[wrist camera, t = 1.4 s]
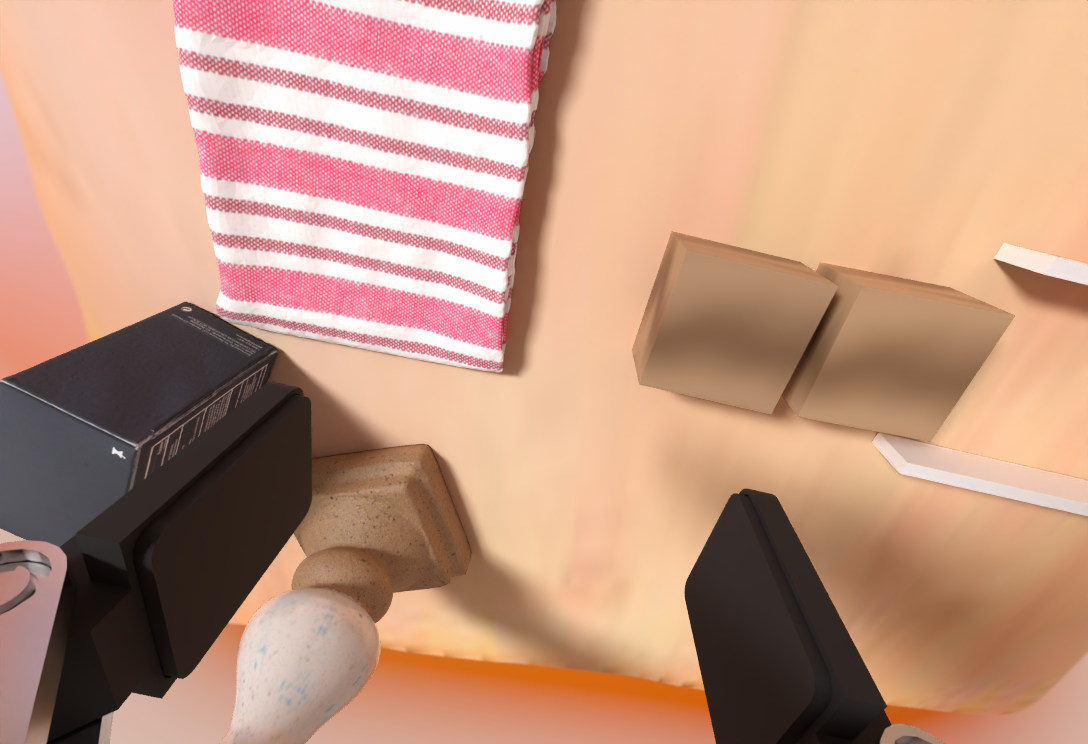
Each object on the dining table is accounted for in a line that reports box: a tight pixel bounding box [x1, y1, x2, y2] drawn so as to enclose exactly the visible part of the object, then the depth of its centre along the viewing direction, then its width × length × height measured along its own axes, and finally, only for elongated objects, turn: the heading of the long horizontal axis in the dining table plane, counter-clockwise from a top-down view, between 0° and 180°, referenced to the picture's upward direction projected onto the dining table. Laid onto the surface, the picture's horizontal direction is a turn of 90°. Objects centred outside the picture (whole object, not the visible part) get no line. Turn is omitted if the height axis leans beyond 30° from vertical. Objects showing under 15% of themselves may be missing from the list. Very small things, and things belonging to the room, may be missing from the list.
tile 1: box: [632, 232, 838, 414], centre depth 25 cm, size 7×7×4 cm
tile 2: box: [782, 263, 1015, 442], centre depth 25 cm, size 7×7×4 cm
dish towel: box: [173, 0, 557, 373], centre depth 23 cm, size 17×23×4 cm
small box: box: [0, 302, 278, 547], centre depth 27 cm, size 11×6×10 cm, turn 148°
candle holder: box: [219, 444, 471, 744], centre depth 25 cm, size 11×11×24 cm
